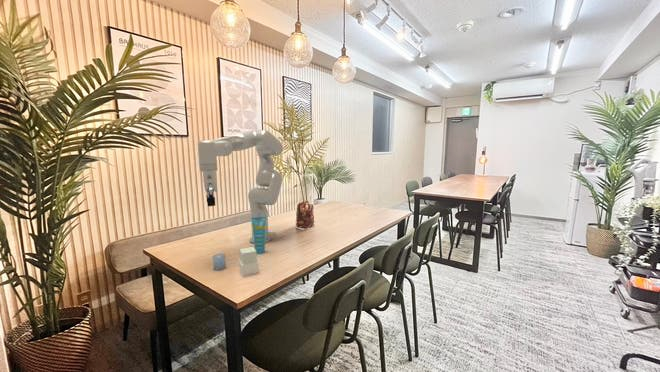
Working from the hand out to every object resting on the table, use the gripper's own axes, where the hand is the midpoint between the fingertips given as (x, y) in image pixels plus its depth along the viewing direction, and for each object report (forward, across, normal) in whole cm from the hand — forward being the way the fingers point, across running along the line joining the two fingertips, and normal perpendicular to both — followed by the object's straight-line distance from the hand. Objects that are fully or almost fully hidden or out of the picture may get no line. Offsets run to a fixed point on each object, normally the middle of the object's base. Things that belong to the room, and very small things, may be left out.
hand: (211, 204), depth 127 cm
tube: (+29, +2, -22) cm, 36 cm away
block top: (+24, -18, -13) cm, 33 cm away
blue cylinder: (+29, -8, -2) cm, 30 cm away
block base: (+29, -18, -13) cm, 36 cm away
